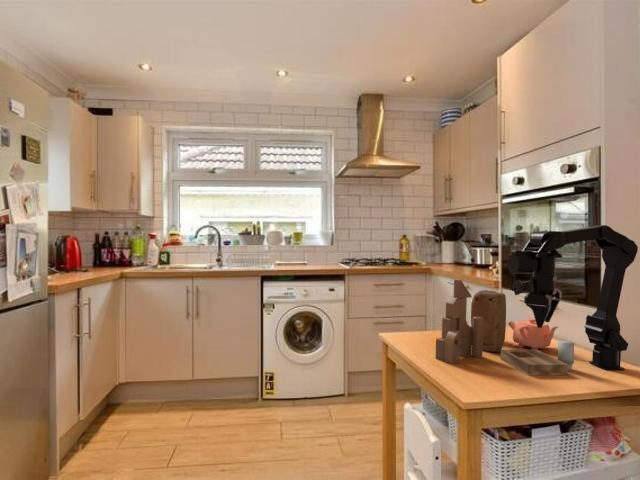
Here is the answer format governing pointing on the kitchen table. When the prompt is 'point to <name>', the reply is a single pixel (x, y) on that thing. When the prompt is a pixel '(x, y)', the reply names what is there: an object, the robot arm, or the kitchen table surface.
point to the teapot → (532, 334)
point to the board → (534, 362)
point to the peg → (566, 353)
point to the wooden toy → (459, 329)
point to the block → (490, 318)
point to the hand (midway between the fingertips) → (543, 324)
